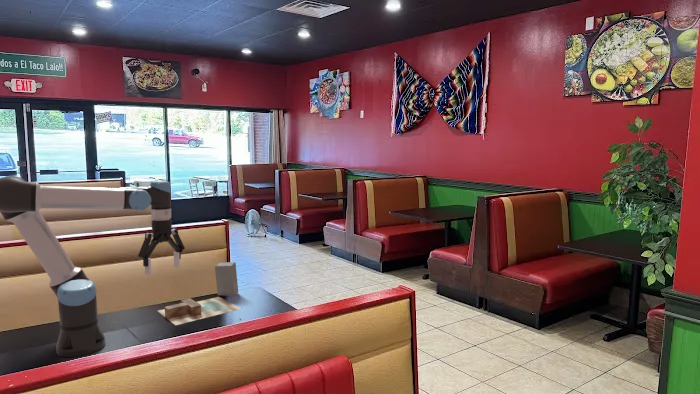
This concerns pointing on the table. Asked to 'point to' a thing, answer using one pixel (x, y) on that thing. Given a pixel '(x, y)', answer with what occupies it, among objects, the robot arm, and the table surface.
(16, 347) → the table surface
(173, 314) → the t block
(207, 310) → the board
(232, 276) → the skincare box
